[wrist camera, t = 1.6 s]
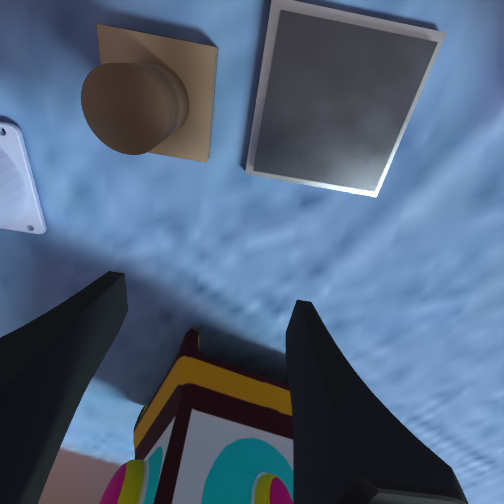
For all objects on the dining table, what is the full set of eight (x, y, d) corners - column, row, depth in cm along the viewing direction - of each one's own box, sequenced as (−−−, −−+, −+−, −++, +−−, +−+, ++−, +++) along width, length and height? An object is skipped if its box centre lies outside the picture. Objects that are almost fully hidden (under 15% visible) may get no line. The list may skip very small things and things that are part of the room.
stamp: (118, 140, 19) (66, 168, 14) (108, 26, 16) (35, 9, 11) (209, 156, 19) (190, 189, 14) (218, 47, 16) (196, 41, 11)
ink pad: (245, 171, 20) (244, 177, 19) (272, -2, 15) (272, -7, 14) (373, 193, 20) (379, 200, 19) (440, 33, 15) (453, 31, 14)
